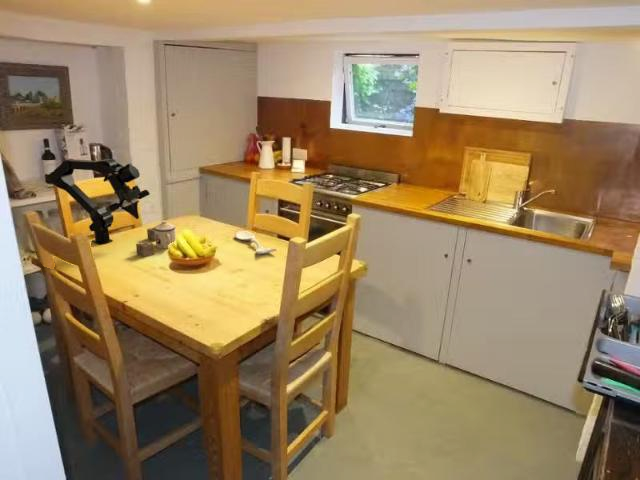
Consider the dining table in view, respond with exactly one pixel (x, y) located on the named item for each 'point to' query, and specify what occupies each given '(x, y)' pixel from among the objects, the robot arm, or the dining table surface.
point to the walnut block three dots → (151, 234)
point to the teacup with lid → (164, 234)
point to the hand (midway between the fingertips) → (137, 218)
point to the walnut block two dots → (145, 249)
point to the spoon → (249, 236)
